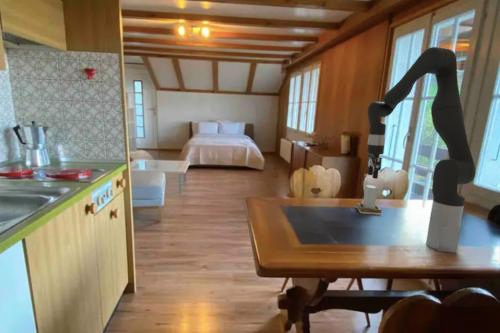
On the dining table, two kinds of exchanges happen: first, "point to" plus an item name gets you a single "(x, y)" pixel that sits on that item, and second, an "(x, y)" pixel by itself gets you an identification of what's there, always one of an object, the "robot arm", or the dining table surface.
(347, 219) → the dining table surface
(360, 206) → the open birch box
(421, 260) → the dining table surface
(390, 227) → the dining table surface
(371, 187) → the skincare box
